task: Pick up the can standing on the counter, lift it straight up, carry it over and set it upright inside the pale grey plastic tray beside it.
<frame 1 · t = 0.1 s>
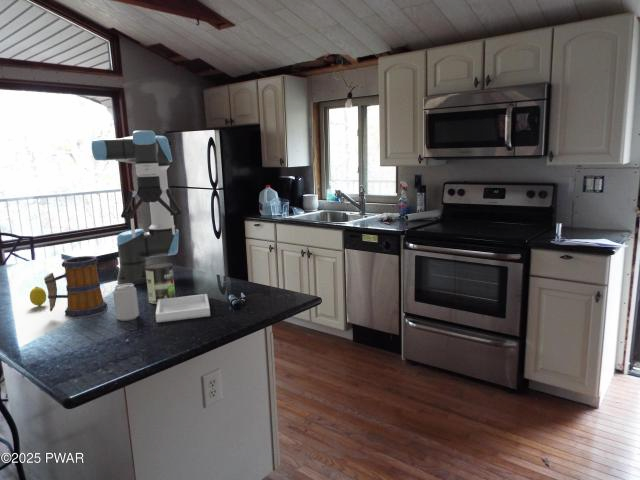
hand: (154, 235, 172), 28 cm above the worktop, tool pointing down, fingers open, 13 cm apart
tray: (183, 311, 175), on the worktop
coffee can: (162, 300, 190), on the worktop
can: (128, 318, 170), on the worktop
lemon: (39, 306, 187), on the worktop
mug: (79, 313, 177), on the worktop
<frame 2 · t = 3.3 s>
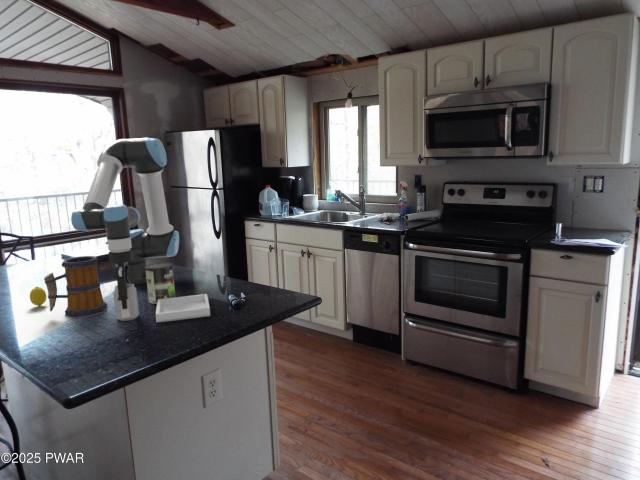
hand: (127, 313, 169), 2 cm above the worktop, tool pointing down, fingers closed on can, 7 cm apart
can: (128, 318, 170), on the worktop, touching gripper
everything else where it was.
when the fingers open (4 cm above the worktop, at t = 9.7 s): can drops 1 cm, resting on tray.
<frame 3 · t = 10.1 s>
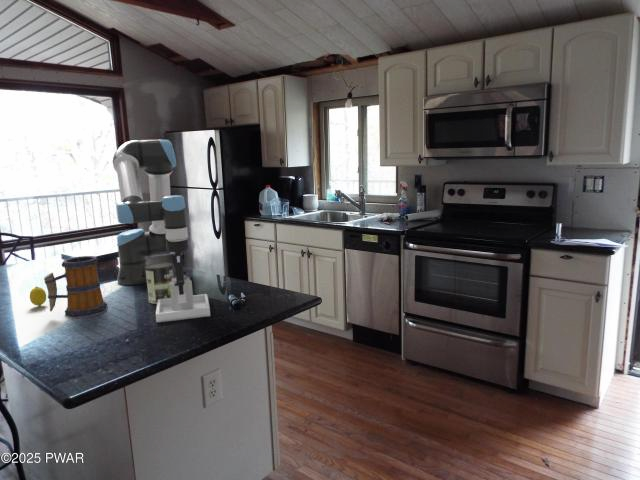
hand: (182, 297, 174), 5 cm above the worktop, tool pointing down, fingers open, 13 cm apart
can: (183, 310, 175), resting on tray
everything else where it was.
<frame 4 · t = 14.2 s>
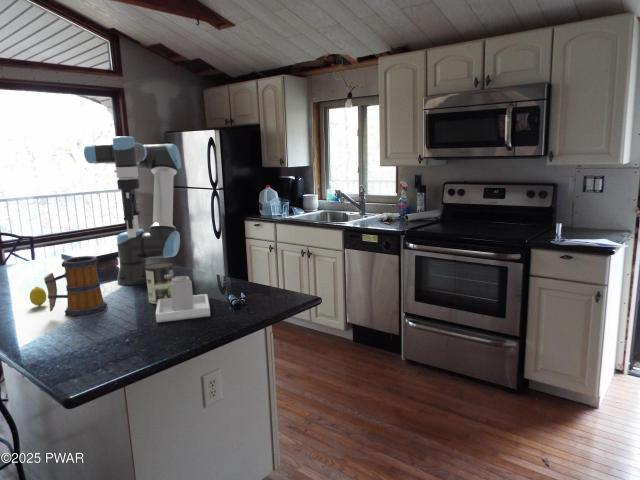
hand: (133, 234, 184), 27 cm above the worktop, tool pointing down, fingers open, 13 cm apart
nothing on the worktop moved.
at the end: can inside the target area on the tray (0.2 cm from its centre), point 0.4 cm above the tray's base; can tilted 0°; the gripper is holding nothing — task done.
